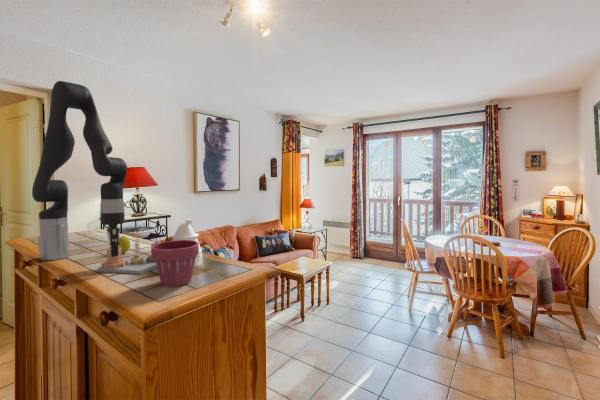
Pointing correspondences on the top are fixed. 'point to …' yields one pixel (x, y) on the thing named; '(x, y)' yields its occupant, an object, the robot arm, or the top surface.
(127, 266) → the carrier
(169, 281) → the plant pot
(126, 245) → the lemon
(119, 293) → the top surface
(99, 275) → the top surface
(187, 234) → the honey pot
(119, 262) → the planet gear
